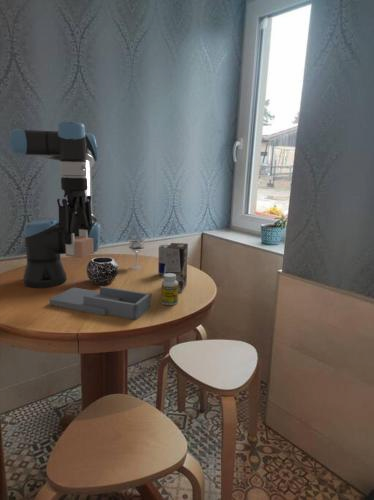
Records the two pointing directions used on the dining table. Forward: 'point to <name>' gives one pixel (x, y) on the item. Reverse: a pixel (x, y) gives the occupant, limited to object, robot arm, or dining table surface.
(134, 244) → the wineglass
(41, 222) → the robot arm
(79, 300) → the sliding lid box
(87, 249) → the terracotta block
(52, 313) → the dining table surface
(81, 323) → the dining table surface
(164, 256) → the energy drink
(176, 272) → the coffee box
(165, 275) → the supplement bottle
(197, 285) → the dining table surface
